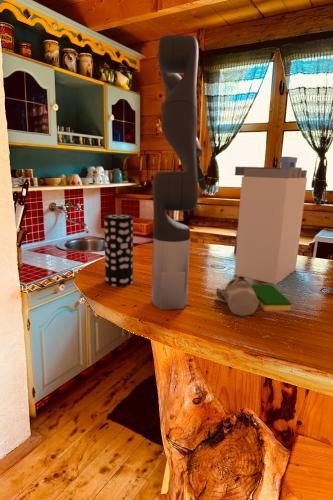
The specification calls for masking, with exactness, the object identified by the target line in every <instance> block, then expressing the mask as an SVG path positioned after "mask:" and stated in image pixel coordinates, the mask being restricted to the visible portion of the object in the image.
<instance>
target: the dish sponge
mask: <svg viewBox="0 0 333 500" xmlns="http://www.w3.org/2000/svg"><path fill="white" fill-rule="evenodd" d="M250 285H251V287H252V288H253V290H254V292H257V296H256V297H257V299H258V300H259V304H258V306H259V307H260V308H261V309H262V310H263V311H266V312H267V311H269V312H270V311H274V312H275V311H291V310H292V302H291V301H290V300H289V299H288V298H287V297H286V296H284V295H283V294H282V293H281V292H280V291H279V290H278V289H277V288H276V287H275V286H273V285H272V284H250Z"/></svg>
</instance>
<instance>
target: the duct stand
mask: <svg viewBox="0 0 333 500" xmlns="http://www.w3.org/2000/svg"><path fill="white" fill-rule="evenodd" d="M279 162H280V167H279V168H280V170H277V169H244V176H241V187H240V195H239V197H240V199H239V211H238V212H239V213H238V214H239V215H238V223H237V228H238V234H237V233H236V234H237V247H236V254H235V260H234V262H235V263H234V273H233V274H234V275H235V276H238V277H244V278H245V279H252V280H255V281H260V282H264V283H267V284H273V285H277V284H278V283H280V282H281V281H282V280H284V279H285V278H286V277H288V276H289V275H290V273H291V274H292V273H294V272H295V271H296V269H297V261H298V255H299V253H298V252H299V246H300V240H301V239H300V238H301V229H302V223H303V214H304V206H305V200H306V199H305V198H306V189H307V188H306V187H307V182H308V177H307V174H308V171H307V170H308V169H307V170H306V169H305V170H304V169H302V171H301V170H289V168H290V167H296V166H297V162H298V157H294V156H293V157H292V156H280V161H279ZM294 270H295V271H294Z"/></svg>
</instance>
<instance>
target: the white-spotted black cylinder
mask: <svg viewBox="0 0 333 500" xmlns="http://www.w3.org/2000/svg"><path fill="white" fill-rule="evenodd" d="M103 217H104V218H103V221H104V222H103V224H104V269H105V271H104V273H105V275H104V278H105V284H106V285H107V286H111V287H126V286H130V285H132V284H133V283H134V216H133V215H131V214H106V215H104V216H103Z"/></svg>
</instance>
